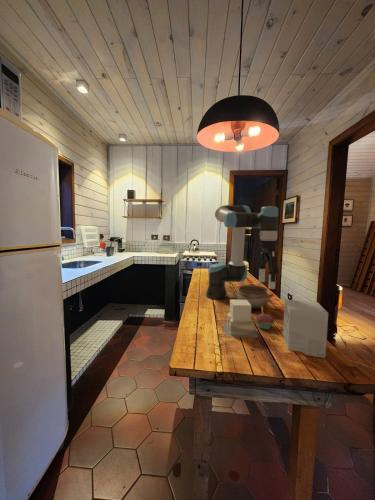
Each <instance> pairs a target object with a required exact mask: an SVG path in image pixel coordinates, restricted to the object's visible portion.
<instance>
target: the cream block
mask: <svg viewBox="0 0 375 500" xmlns="http://www.w3.org/2000/svg"><path fill="white" fill-rule="evenodd" d="M229 313H230V316H231V318H232V320H233V321H251V319H252V310H251V304H250V303H249V302H248V301H247V300H237V299H229Z"/></svg>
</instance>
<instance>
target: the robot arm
mask: <svg viewBox="0 0 375 500" xmlns="http://www.w3.org/2000/svg"><path fill="white" fill-rule="evenodd" d="M214 216H215V217H214V218H215V219H216V220H217V221H218V222H220V223H223V224H224V227H225V228H230V229H232V233H231V248H230V249H231V250H230V261H228V263H227V265H226V264H225V263H221V262H220V263H213V264H210V266H208V267H209V268H208V286H207V289H206V292H205V296H206V297H207V298H208V297H209V299H212V300H223V299H227V297H228V293H227V292H228V291H227V289H226V283H242V282H245V281H246V279H247V277H248V267H247V265H246V264H245V262H244V253H245V252H244V249H245V239H246V238H245V235H246V228H251V229H259V230H260V232H259V233H258V234H259V240H260V241H259V249H260V250H259V251H260V254H259V259H258V262H257V267H258V282H259V283H264V282H266V269H267V268H266V265H267V266H268V270H269V272H268V285H267V286H268V288H267V289H270V290H275V289H276V281H277V280H276V277H277V275H278V274H279V269H278V262H277V251H274V250H276V249H277V248H278V241H277V239H278V233H279V231H278V225H279V224H278V223H279V208H278V207H277V206H274V205H273V206H272V205H271V206H270V205H269V206H268V205H267V206H262V207H261V208H260V212H252V211H251V208H250V206H248V205H241V204H240V205H239V204H237V205H235V204H234V205H232V204H229V205H228V204H225V205H222V206H219V207H217V209H216V210H215V212H214Z"/></svg>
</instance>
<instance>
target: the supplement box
mask: <svg viewBox="0 0 375 500" xmlns="http://www.w3.org/2000/svg"><path fill="white" fill-rule="evenodd" d="M328 322H329V312H328V311H327V310H326V309H324V307H323V306H322V305H321V304H320V303H319V302H316V301H307V300H306V301H305V300H297V299H296V300H295V299H284V311H283V325H282V327H283V328H282V329H283V330H282V336H283V339H284V343H285V347H286V349H287V350H289V351H292V352H293V351H294V352H299V353H303V354H304V355H305V356H309V357H315V358H321V359H322V358H326V355H327V354H326V352H327V339H328V326H329V325H328Z"/></svg>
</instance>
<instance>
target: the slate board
mask: <svg viewBox="0 0 375 500" xmlns="http://www.w3.org/2000/svg"><path fill="white" fill-rule="evenodd" d="M222 326H223V330H224V332H225V335H226V337H227V338H230V337H231V338H260V336H259V335H258V333H257V332H256V329H253V335H231V334H230V332H229V329H228V326H227V322H222Z"/></svg>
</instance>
